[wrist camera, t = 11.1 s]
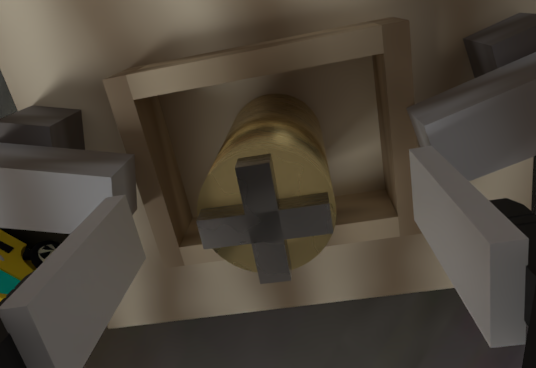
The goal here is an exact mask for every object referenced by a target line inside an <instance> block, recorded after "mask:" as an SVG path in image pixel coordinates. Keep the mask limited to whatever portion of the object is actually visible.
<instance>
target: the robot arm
mask: <svg viewBox="0 0 536 368" xmlns="http://www.w3.org/2000/svg"><path fill="white" fill-rule="evenodd" d="M409 156H410V170H411V184H412V198H413V211H414V220H415V222H416V224H417V225H418V227H419V229H420V230H421V232H422V234H423V235H424V237H425V239H426V240H427V242H428V244H429V245H430V247H431V249H432V251H433V252H434V254H435V256H436V257H437V259H438V261H439V262H440V264H441V266H442V267H443V269H444V271H445V272H446V274H447V276H448V277H449V279H450V281H451V282H452V284H453V286H454V288H455V289H456V291H457V293H458V294H459V296H460V298H461V299H462V301H463V303H464V304H465V306H466V308H467V309H468V311H469V313H470V314H471V316H472V318H473V319H474V321H475V323H476V325H477V326H478V328H479V330H480V331H481V333H482V335H483V336H484V338H485V340H486V341H487V343H488V345H489V346H490V348H496V347H505V346H514V345H523V344H525V341H526V347H525V353H524V359H523V365H522V368H536V215H534V213H533V212H532V211H531V210H530V209H528V208H527V207H526V206H525V205H524V204H521V203H518V202H516V201H513V200H511V199H508V198H502V199H496V200H488V199H487V198H486V197H485V196H484V195H483V194H482V193H481V192H479V191H478V190H477V189H476V188H475V187H474V186H473V185H472V184H471V183H470V182H469V181H468V180H467V179H466V178H465V177H464V176H463V175H462V174H461V173H460V172H459V171H458V170H456V169H455V168H454V167H453V166H452V165H451V164H450V163H449V162H448V161H447V160H446V159H445V158H444V157H443V156H442V155H441V154H440V153H439V152H438V151H437V150H436V149H435V148H434V147H432V146H426V147H420V148H413V149H409ZM145 259H146V256H145V253H144V250H143V247H142V244H141V241H140V238H139V235H138V232H137V228H136V225H135V222H134V219H133V216H132V213H131V210H130V207H129V204H128V201H127V198H126V195H119V196H113V197H107V198H105V199H104V200H103V201H102V202H101V203H100V204H99V205H98V206H97V207H96V208H95V209H94V210H93V212H92V213H91V214H90V215H89V216H88V217H87V218H86V219H85V220H84V221H83V222H82V223H81V224H80V225H79V226H78V227H77V228H76V229H75V230H74V231H73V232H72V233H71V234H70V235H69V236H68V237H67V238H66V239H65V240H64V241H63V242H62V243H61V244H60V245H59V246H58V247H57V248H56V250H55V251H54V252H53V253H52V254H51V255H50V256H49V257H48V258H47V259H46V260H45V261H44V262H43V263H42V264H41V265H40V266H39V267H38V268H37V269H36V270H34V271H33V272H31V273H30V274H28V275H27V276H25V277H24V278H23V279H22V280H21V281H20V282H19V283H18V284H17V285H16V286H15V289H12V290H11V291H10V292H9V293H8V294H7V295H6V298H3V299H2V300H1V301H0V368H83V366H84V365H85V363H86V361H87V359H88V358H89V356H90V354H91V353H92V351H93V349H94V347H95V346H96V344H97V342H98V340H99V339H100V337H101V335H102V333H103V332H104V330H105V328H106V327H107V325H108V323H109V321H110V320H111V318H112V316H113V314H114V313H115V311H116V309H117V307H118V306H119V304H120V302H121V301H122V299H123V297H124V295H125V294H126V292H127V290H128V288H129V287H130V285H131V283H132V281H133V280H134V278H135V276H136V274H137V273H138V271H139V269H140V268H141V266H142V264H143V262H144V261H145ZM526 323H527V325H528V326H529V328H528V334H527V340H526Z"/></svg>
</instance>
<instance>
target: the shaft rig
mask: <svg viewBox="0 0 536 368" xmlns="http://www.w3.org/2000/svg"><path fill="white" fill-rule="evenodd" d="M0 69H1V71H2V74H3V76H4V79H5V81H6V83H7V86H8V88H9V91H10V93H11V95H12V98H13V100H14V103H15V105H16V107H17V110H18V112H15V113H13V114H10V115H8V116H6V117H3V118H1V119H0V228H9V229H20V230H31V231H42V232H53V233H64V234H69V235H70V234H71V233H72V232H73V231H74V230H75V229H76V228H77V227H78V226H79V225H80V224H81V223H82V222H83V221H84V220H85V219H86V218H87V217H88V216H89V215H90V214H91V213H92V212H93V210H94V209H95V208H96V207H97V206H98V205H99V204H100V203H101V202H102V201H103V200H104V199H105V198H107V197H113V196H119V195H126V198H127V201H128V204H129V207H130V210H131V213H132V216H133V219H134V222H135V225H136V228H137V232H138V235H139V238H140V241H141V244H142V247H143V250H144V253H145V256H146V259H145V261H144V262H143V264H142V266H141V268H140V269H139V271H138V273H137V274H136V276H135V278H134V280H133V281H132V283H131V285H130V287H129V288H128V290H127V292H126V294H125V295H124V297H123V299H122V301H121V302H120V304H119V306H118V307H117V309H116V311H115V313H114V314H113V316H112V318H111V320H110V321H109V323H108V325H107V327H108V329H112V328H121V327H129V326H137V325H146V324H154V323H163V322H171V321H179V320H188V319H196V318H205V317H213V316H221V315H230V314H238V313H247V312H255V311H263V310H272V309H280V308H289V307H297V306H305V305H314V304H322V303H331V302H339V301H347V300H356V299H364V298H373V297H381V296H389V295H398V294H406V293H415V292H423V291H431V290H440V289H448V288H454V286H453V284H452V282H451V281H450V279H449V277H448V276H447V274H446V272H445V271H444V269H443V267H442V266H441V264H440V262H439V261H438V259H437V257H436V256H435V254H434V252H433V251H432V249H431V247H430V245H429V244H428V242H427V240H426V239H425V237H424V235H423V234H422V232H421V230H420V229H419V227H418V225H417V224H416V222H415V220H414V211H413V198H412V184H411V170H410V156H409V149H413V148H420V147H426V146H432V147H434V148H435V149H436V150H437V151H438V152H439V153H440V154H441V155H442V156H443V157H444V158H445V159H446V160H447V161H448V162H449V163H450V164H451V165H452V166H453V167H454V168H455V169H456V170H458V171H459V172H460V173H461V174H462V175H463V176H464V177H465V178H466V179H467V180H468V181H469V182H470V183H471V184H472V185H473V186H474V187H475V188H476V189H477V190H478V191H479V192H481V193H482V194H483V195H484V196H485V197H486V198H487V199H488V200H496V199H502V198H508V199H511V200H513V201H516V202H518V203H521V204H524V205H525V206H526V207H527V208H528V209H530V210H531V203H532V180H533V157H534V156H536V0H0ZM267 94H285V95H289V96H293V97H295V98H297V99H299V100H301V101H302V102H304V103H305V104H306V105H307V106H309V108H310V109H311V110H312V111H313V112H314V114H315V115H316V117H317V119H318V121H319V123H320V126H321V131H322V136H323V141H324V146H325V152H326V157H327V162H328V167H329V172H330V177H331V182H332V187H333V193H334V198H335V203H336V223H335V227H334V231H333V234H332V236H331V238H330V240H329V242H328V243H327V245H326V246H325V247H324V249H323V250H322V251H321V252H320V253H319V254H318V255H317V256H316V257H315V258H314V259H312V260H311V261H310V262H308V263H306V264H305V265H303V266H301V267H298V268H296V269H293V270H292V276H291V281H284V282H275V283H266V284H260V281H259V276H258V273H257V272H251V271H248V270H244V269H241V268H239V267H237V266H235V265H233V264H231V263H229V262H227V261H226V260H225V259H223V258H222V257H221V256H219V255H218V254H217V253H216V252H215V251H214V250H213V249H203V245H202V241H201V238H200V234H199V230H198V226H197V223H196V220H197V218H198V216H197V203H198V197H199V193H200V190H201V188H202V185H203V183H204V181H205V179H206V177H207V175H208V173H209V171H210V169H211V167H212V165H213V163H214V161H215V159H216V156H217V154H218V152H219V150H220V148H221V146H222V144H223V142H224V140H225V138H226V136H227V134H228V132H229V130H230V128H231V126H232V124H233V122H234V120H235V118H236V116H237V114H238V113H239V112H240V110H241V109H242V108H243V107H244V106H245V105H246V104H247V103H249V102H250V101H251V100H253V99H255V98H257V97H260V96H262V95H267Z"/></svg>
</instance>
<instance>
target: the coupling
mask: <svg viewBox="0 0 536 368" xmlns="http://www.w3.org/2000/svg"><path fill="white" fill-rule="evenodd" d="M197 216H198V218H197V220H196V223H197V226H198V230H199V234H200V238H201V241H202V245H203V249H213V250H214V251H215V252H216V253H217V254H218V255H219V256H221V257H222V258H223V259H225V260H226V261H227V262H229V263H231V264H233V265H235V266H237V267H239V268H241V269H244V270H248V271H251V272H257V273H258V276H259V281H260V284H266V283H275V282H284V281H291V276H292V270H293V269H296V268H298V267H301V266H303V265H305V264H306V263H308V262H310V261H311V260H312V259H314V258H315V257H316V256H317V255H318V254H319V253H320V252H321V251H322V250H323V249H324V247H325V246H326V245H327V243H328V242H329V240H330V238H331V236H332V234H333V231H334V227H335V223H336V203H335V198H334V193H333V187H332V182H331V177H330V172H329V167H328V162H327V157H326V152H325V146H324V141H323V136H322V131H321V126H320V123H319V121H318V119H317V117H316V115H315V114H314V112H313V111H312V110H311V109H310V108H309V106H307V105H306V104H305V103H304V102H302V101H301V100H299V99H297V98H295V97H293V96H289V95H285V94H267V95H262V96H260V97H257V98H255V99H253V100H251V101H250V102H249V103H247V104H246V105H245V106H244V107H243V108H242V109H241V110H240V112H239V113H238V114H237V116H236V118H235V120H234V122H233V124H232V126H231V128H230V130H229V132H228V134H227V136H226V138H225V140H224V142H223V144H222V146H221V148H220V150H219V152H218V154H217V156H216V159H215V161H214V163H213V165H212V167H211V169H210V171H209V173H208V175H207V177H206V179H205V181H204V183H203V185H202V188H201V190H200V193H199V197H198V203H197Z"/></svg>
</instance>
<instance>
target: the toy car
mask: <svg viewBox="0 0 536 368" xmlns="http://www.w3.org/2000/svg"><path fill="white" fill-rule="evenodd" d="M59 245H60V244H59V243H56V242H52V241H44V242H40V243H38V244H36V245H35V246H34V247H33V248H32V250H29V249H28V248H26V246H27V244H25V243H23V242H22V241H20V240H18V239H16V238H14V237H13V236H11V235H9V234H7V233H6V232H4V231H2V230H0V301H1V300H2V299H3V298H6V295H7V294H8V293H9V292H10V291H11V290H12V289H15V286H16V285H17V284H18V283H19V282H20V281H21V280H22V279H23V278H24V277H25V276H27V275H28V274H30V273H31V272H33V271H34V270H36V269H37V268H38V267H39V266H40V265H41V264H42V263H43V262H44V261H45V260H46V259H47V258H48V257H49V256H50V255H51V254H52V253H53V252H54V251H55V250H56V248H57V247H58V246H59ZM25 248H26V249H25Z"/></svg>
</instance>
